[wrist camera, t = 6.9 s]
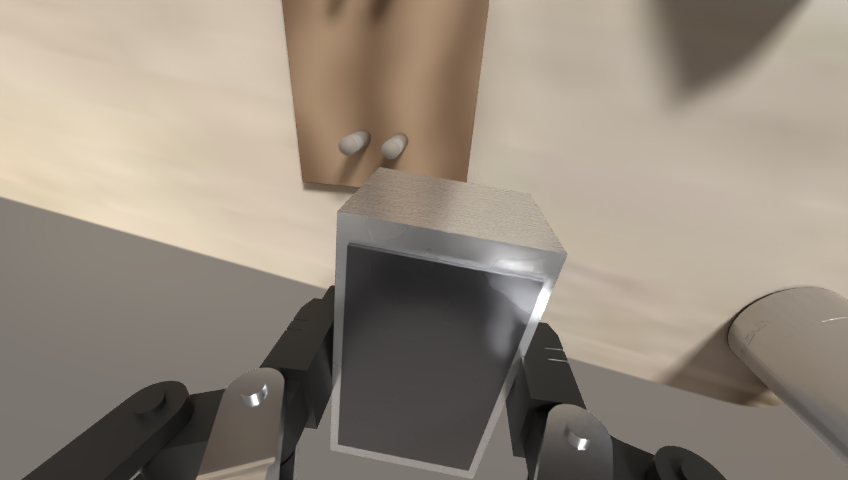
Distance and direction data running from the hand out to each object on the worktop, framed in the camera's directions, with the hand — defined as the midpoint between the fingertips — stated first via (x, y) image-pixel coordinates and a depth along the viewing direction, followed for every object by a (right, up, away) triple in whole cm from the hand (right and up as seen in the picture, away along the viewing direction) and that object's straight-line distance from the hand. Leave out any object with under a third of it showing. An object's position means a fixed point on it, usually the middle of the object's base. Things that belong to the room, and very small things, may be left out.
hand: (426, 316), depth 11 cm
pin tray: (-3, +16, +12) cm, 21 cm away
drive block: (0, +1, +1) cm, 2 cm away
